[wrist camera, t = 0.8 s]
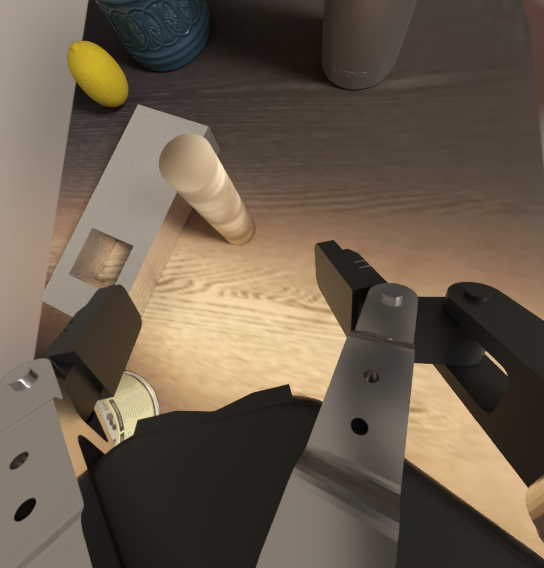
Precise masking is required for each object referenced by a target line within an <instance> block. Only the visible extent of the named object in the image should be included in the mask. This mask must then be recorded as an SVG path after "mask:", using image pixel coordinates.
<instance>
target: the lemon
mask: <svg viewBox="0 0 544 568" xmlns="http://www.w3.org/2000/svg"><path fill="white" fill-rule="evenodd" d="M67 60H68V66H69V69H70V71H71V73H72V75H73V77H74V79H75V80H76V82H77V83H78V85H79V86H80V87H81V88H82V89H83V90H84V92H85V93H86V94H87V95H88V96H89V97H91V98H92V99H93V100H95V101H96V102H98V103H99V104H101V105H104V106H107V107H118V106H120V105H123V104H124V103H125V101H126V99H127V97H128V83H127V80H126V77H125V75H124V73H123V71H122V70H121V68H120V67H119V65H118V64H117V62H116V61H115V60H114V59H113V58H112V57H111V56H110V55H109V54H108V53H107V52H106V51H105V50H104V49H102V48H101V47H99V46H98V45H96V44H94V43H92V42H89V41H78V42H72V43H71V44H70V48H69V50H68V56H67Z"/></svg>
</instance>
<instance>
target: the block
mask: <svg viewBox="0 0 544 568" xmlns="http://www.w3.org/2000/svg"><path fill="white" fill-rule="evenodd" d="M188 133H192V134H197V135H200V136H202V137H204V138H205V139H206V140H207V141H208V142H209V143H210V145H211V147H212V149H213V150H214V152H215V154H216V156H217V155H218V153H219V151H220V148H219V146H218V144H217V142H216V140H215V138H214V136H213V134H212V132H211V130H210V129H209V127H208V126H205V125H202V124H199V123H196V122H193V121H189V120H186V119H183V118H180V117H177V116H173V115H170V114H167V113H164V112H161V111H157V110H154V109H151V108H148V107H145V106H141V105H138V106H137V108H136V110H135V112H134V114H133V116H132V118H131V120H130V122H129V123H128V125H127V127H126V129H125V131H124V133H123V135H122V137H121V139H120V141H119V143H118V145H117V147H116V149H115V151H114V153H113V155H112V157H111V159H110V161H109V163H108V165H107V167H106V169H105V171H104V173H103V175H102V177H101V179H100V181H99V183H98V185H97V187H96V189H95V191H94V193H93V195H92V197H91V199H90V201H89V203H88V205H87V207H86V209H85V211H84V213H83V215H82V217H81V219H80V221H79V223H78V225H77V227H76V229H75V231H74V233H73V235H72V237H71V239H70V241H69V243H68V245H67V247H66V249H65V251H64V253H63V255H62V257H61V259H60V261H59V263H58V265H57V267H56V269H55V271H54V273H53V274H52V276H51V278H50V280H49V282H48V284H47V286H46V288H45V290H44V292H43V294H42V296H41V299H40V300H41V301H43V302H45V303H47V304H49V305H51V306H52V307H54V308H56V309H58V310H60V311H62V312H64V313H66V314H68V315H69V316H71V317H73V316H74V315H75V314H76V313H77V312H78V311H79V310H80V309H81V308H83V307H84V306H85V305H86V304H87V303H88V302H89V301H90V299H91V298H92V296H93V295H94V294H95V292H96V291H97V290H98V289H99V288H103V287H108V286H109V285H107V284H105V283H103V282H101V281H98V280H97V279H98V277H99V275H100V273H101V271H102V269H103V267H104V265H105V263H106V261H107V259H108V257H109V255H110V253H111V251H112V248H113V246H114V244H115V242H116V240H117V239H119V240H121V241H124V242H126V243H128V244H130V245H133V248H132V251H131V253H130V255H129V257H128V259H127V261H126V263H125V265H124V267H123V269H122V271H121V273H120V275H119V277H118V280H117V282H116V284H115V285H118V284H120V285H122V286H123V287H124V288H125V289H126V291H127V293H128V294H129V296H130V298H131V299H132V301H133V303H134V305H135V306H136V308H137V310H138V311H139V313H140V316H142V314H143V312H144V310H145V308H146V306H147V304H148V302H149V299H150V297H151V295H152V293H153V291H154V289H155V287H156V285H157V283H158V280H159V278H160V276H161V274H162V272H163V270H164V268H165V266H166V263H167V261H168V259H169V257H170V255H171V253H172V251H173V249H174V246H175V244H176V242H177V240H178V238H179V236H180V234H181V232H182V229H183V227H184V225H185V223H186V221H187V219H188V217H189V215H190V212H191V210H192V208H193V207H192V206H191V205H190V204H189V203H188V202H187V201H186V200H185V199H184V198H183V197H182V196H181V195H180V194H179V193H178V192H177V191H176V190H175V189H174V188H173V187H172V186H171V185H169V184H168V183H167V182H166V181H165V180H164V178H163V177H162V175H161V173H160V170H159V158H160V154H161V152H162V150H163V148H164V147H165V146H166V144H167V143H168V142H169V141H171V140H172V139H173V138H175V137H177V136H179V135H182V134H188Z"/></svg>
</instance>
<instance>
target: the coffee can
mask: <svg viewBox="0 0 544 568" xmlns="http://www.w3.org/2000/svg"><path fill="white" fill-rule="evenodd" d="M95 407H96V408H97V409H98V410H99V412H100V414H101V416H102V418H103V420H104V422H105V424H106V427H107V429H108V431H109V433H110V435H111V437H112V439H113V441H114V443H115V446H116V445H117V444H119V443H120V442H122V441H123V440H125V439H127V438H128V437H130V436H132V435H133V434H134V431H135V427H136V424H137V420H139V419H143V418H148V417H152V416H156V415H159V404H158V401H157V398H156V395H155V393H154V391H153V389H152V388H151V386H150V385H149V384H148V382H147V381H146V380H144V379H143V378H142V377H141V376H139V375H137V374H135V373H132V372H129V371H124V373H123V375H122V378H121V380H120V383H119V385H118V388H117V390H116V393H115V395H114V397H111V398H107V399H103V400H98V401H97V403H96V405H95Z"/></svg>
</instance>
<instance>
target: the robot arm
mask: <svg viewBox="0 0 544 568" xmlns="http://www.w3.org/2000/svg"><path fill="white" fill-rule="evenodd" d="M416 2H417V0H324V19H323V36H322V56H321V63H322V68H323V72H324V73H325V75H326V77H327V78H328V79H329V80H330V81H331V82H332V83H334V84H335V85H337V86H340V87H342V88H346V89H352V90H353V89H364V88H368V87H371V86H373V85H376V84H377V83H379V82H381V81H382V80H383V79H385V78H386V77H387V76H388V75H389V74H390V72H391V71H392V69H393V68H394V65H395V63H396V60H397V57H398V54H399V51H400V48H401V46H402V43H403V40H404V37H405V34H406V31H407V28H408V26H409V23H410V20H411V17H412V14H413V11H414V8H415V5H416ZM315 265H316V278H317V283H318V286H319V289H320V291H321V292H322V294H323V296H324V298H325V300H326V301H327V303H328V305H329V307H330V308H331V310H332V312H333V314H334V315H335V317H336V319H337V321H338V322H339V324H340V326H341V328H342V329H343V331H344V333H345V335H346V337H347V339H346V341H345V344H344V347H343V349H342V352H341V355H340V358H339V360H338V363H337V366H336V368H335V371H334V374H333V376H332V379H331V382H330V384H329V387H328V390H327V392H326V395H325V398H324V401H320V400H317V399H314V398H310V397H304V396H293V395H292V394H291V390H290V386H289V384H287V385H283V386H279V387H275V388H270V389H266V390H262V391H258V392H254V393H251V394H249V395H247V396H245V397H243V398H241V399H239V400H237V401H235V402H233V403H231V404H229V405H227V406H225V407H223V408H221V409H219V410H216V411H212V412H205V411H173V412H169V413H165V414H160V415H156V416H152V417H148V418H143V419H139V420H137V424H136V427H135V431H134V434H133V435H132V436H130V437H128V438H127V439H125V440H123V441H122V442H120V443H119V444H117V445H116V446H115V443H114V441H113V439H112V437H111V435H110V433H109V431H108V429H107V427H106V424H105V422H104V420H103V418H102V416H101V414H100V412H99V410H98V409H97V408H96V407H95V405H96V403H97V401H98V400H103V399H107V398H111V397H114V395H115V393H116V390H117V388H118V385H119V383H120V380H121V378H122V375H123V373H124V370H125V368H126V365H127V362H128V360H129V357H130V355H131V352H132V350H133V347H134V345H135V342H136V340H137V337H138V335H139V332H140V329H141V326H142V320H141V316H140V313H139V311H138V310H137V308H136V306H135V305H134V303H133V301H132V299H131V298H130V296H129V294H128V293H127V291H126V289H125V288H124V287H123V286H122V285H120V284H118V285H113V286H108V287H103V288H99V289H98V290H97V291H96V292H95V294H94V295H93V296H92V298H91V299H90V301H89V302H88V303H87V304H86V305H85V306H84V307H83V308H81V309H80V310H79V311H78V312H77V313H76V314H75V315H74V316H73V318H72V319H71V320H70V322H69V323H70V324H67V326H66V327H65V328H64V330H63V332H61V334H60V335H59V336H58V338H57V339H56V340H55V342H54V343H53V344H52V345H51V347H50V348H49V349H48V351H47V352H46V353H45V355H44V356H43V357H42V359H36V360H33V361H30V362H28V363H25V364H23V365H21V366H19V367H17V368H16V369H14V370H13V371H11V372H10V373H8V374H7V375H6V376H5V377H3V378H2V379H1V380H0V568H544V559H543V558H542V557H540V556H539V555H538V554H536V553H535V552H534V551H532V550H531V549H530V548H528V547H527V546H526V545H524V544H523V543H521V542H520V541H519V540H517V539H516V538H515V537H513V536H512V535H510V534H509V533H508V532H506V531H505V530H503V529H502V528H501V527H499V526H498V525H497V524H495V523H494V522H492V521H491V520H490V519H488V518H487V517H486V516H484V515H483V514H481V513H480V512H479V511H477V510H476V509H475V508H473V507H472V506H470V505H469V504H468V503H466V502H465V501H464V500H462V499H461V498H459V497H458V496H457V495H455V494H454V493H452V492H451V491H450V490H448V489H447V488H446V487H444V486H443V485H441V484H440V483H439V482H437V481H436V480H435V479H433V478H432V477H430V476H429V475H428V474H426V473H425V472H424V471H422V470H421V469H419V468H418V467H417V466H415V465H414V464H413V463H411V462H410V461H408V460H407V459H406V458H404V454H405V444H406V434H407V425H408V415H409V405H410V395H411V386H412V376H413V366H414V363H424V364H433V365H434V366H435V368H436V369H437V370H438V371H439V373H440V374H441V375H442V377H443V378H444V379H445V380H446V382H447V383H448V384H449V386H450V387H451V388H452V390H453V391H454V392H455V393H456V395H457V396H458V397H459V399H460V400H461V401H462V403H463V404H464V405H465V406H466V408H467V409H468V410H469V412H470V413H471V414H472V416H473V417H474V418H475V419H476V421H477V422H478V423H479V425H480V426H481V427H482V429H483V430H484V431H485V432H486V434H487V435H488V436H489V438H490V439H491V440H492V441H493V443H494V444H495V445H496V447H497V448H498V449H499V451H500V452H501V453H502V454H503V456H504V457H505V458H506V460H507V461H508V462H509V464H510V465H511V466H512V467H513V469H514V470H515V471H516V473H517V474H518V475H519V477H520V478H521V479H522V480H523V482H524V483H525V484H526V486H527V487H528V490H527V493H526V506H527V509H528V512H529V515H530V517H531V519H532V521H533V523H534V525H535V527H536V530H537V533H538V535H539V537H540V538H541V540H542V541H543V543H544V321H543V320H542V319H540V318H539V317H537V316H536V315H534V314H533V313H531V312H530V311H528V310H527V309H526V308H524V307H523V306H521V305H520V304H518V303H517V302H515V301H514V300H512V299H511V298H509V297H508V296H506V295H505V294H503V293H502V292H500V291H499V290H497V289H495V288H493V287H491V286H488V285H485V284H481V283H475V282H459V283H455V284H453V285H451V286H450V287H449V288H448V290H447V293H446V297H418V296H417V294H416V293H415V292H414V291H413V290H412V289H410V288H408V287H406V286H404V285H400V284H396V283H387V282H386V281H385V280H384V279H383V278H382V277H381V276H380V275H379V274H378V273H377V272H376V271H375V270H374V269H373V268H372V267H371V266H370V265H369V264H368V263H367V262H366V261H365V260H364V259H363V258H362V257H361V256H360V255H359V254H358V253H356V252H354V251H352V250H349V249H344V250H342V249H341V248H340V247H339V245H338V244H337V243H336V242H335V241H334V240H331V241H326V242H321V243H317V244H315ZM486 351H487V352H488V353H489V354H490V355H491V356H492V357H493V358H494V359H495V360H496V361H497V362H498V363H499V364H501V366H502V367H503V368H504V369H505V371H506V372H507V374H508V376H507V375H506V374H505V373H504V372H503V371H502V370H501V369H500V368H499V367H498V366H497V365H496V364H495V363H493V362H492V361H491V360H490V359H489V358H488V357H487V356H486V355H485V352H486Z"/></svg>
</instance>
